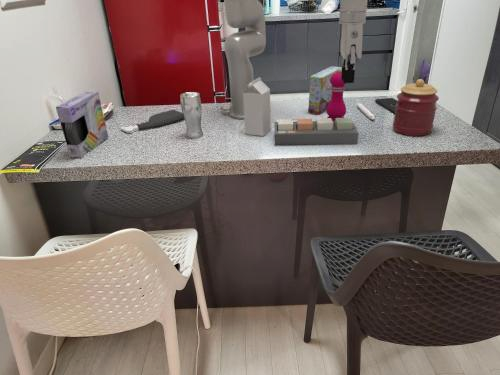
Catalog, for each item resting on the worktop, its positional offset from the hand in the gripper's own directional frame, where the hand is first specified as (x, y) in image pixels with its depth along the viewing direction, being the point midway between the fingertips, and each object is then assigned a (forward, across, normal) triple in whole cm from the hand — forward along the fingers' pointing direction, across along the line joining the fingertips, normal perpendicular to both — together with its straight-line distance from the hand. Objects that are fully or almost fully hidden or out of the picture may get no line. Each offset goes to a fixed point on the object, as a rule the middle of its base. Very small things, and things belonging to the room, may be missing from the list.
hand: (347, 80), depth 118 cm
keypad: (+19, 0, +10) cm, 22 cm away
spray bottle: (+20, +18, +71) cm, 76 cm away
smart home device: (+20, +32, -26) cm, 46 cm away
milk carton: (+19, +7, +29) cm, 36 cm away
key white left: (+17, 0, +20) cm, 26 cm away
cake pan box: (+20, -5, +87) cm, 90 cm away
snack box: (+20, +35, +2) cm, 40 cm away
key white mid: (+17, 0, +6) cm, 18 cm away
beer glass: (+19, +5, +52) cm, 56 cm away
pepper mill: (+19, +16, 0) cm, 25 cm away
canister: (+20, +6, -25) cm, 32 cm away
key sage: (+17, 0, 0) cm, 17 cm away
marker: (+20, +25, -13) cm, 34 cm away
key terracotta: (+17, 0, +13) cm, 21 cm away
